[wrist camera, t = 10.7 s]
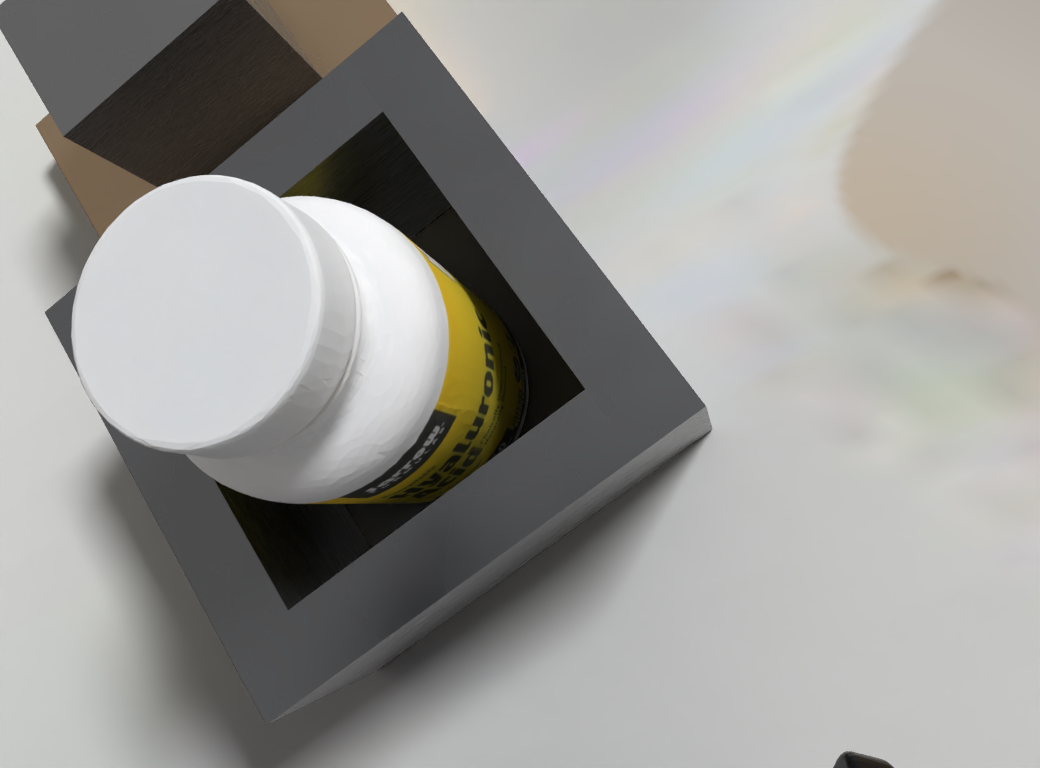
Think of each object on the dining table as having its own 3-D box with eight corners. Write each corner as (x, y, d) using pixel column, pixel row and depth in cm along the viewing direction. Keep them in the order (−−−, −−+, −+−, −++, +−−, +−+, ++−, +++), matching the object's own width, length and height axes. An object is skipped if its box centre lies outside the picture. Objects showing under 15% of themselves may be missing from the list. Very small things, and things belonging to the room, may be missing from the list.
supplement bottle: (475, 542, 20) (248, 581, 11) (299, 444, 22) (-37, 403, 12) (572, 340, 20) (431, 203, 11) (389, 258, 22) (125, 73, 12)
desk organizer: (377, 670, 20) (260, 728, 15) (68, 142, 25) (-101, 53, 20) (712, 429, 19) (705, 404, 14) (322, -80, 23) (212, -235, 18)
